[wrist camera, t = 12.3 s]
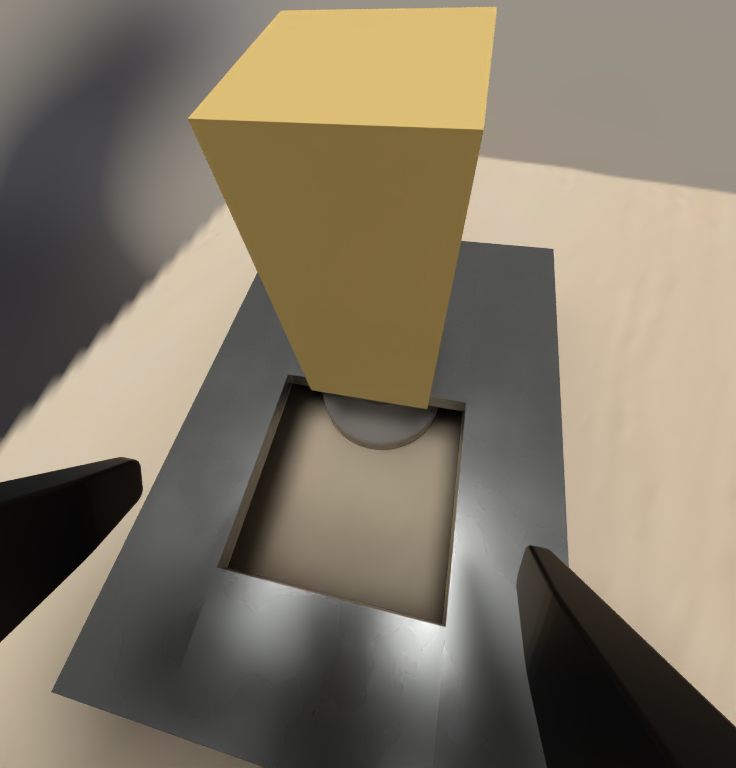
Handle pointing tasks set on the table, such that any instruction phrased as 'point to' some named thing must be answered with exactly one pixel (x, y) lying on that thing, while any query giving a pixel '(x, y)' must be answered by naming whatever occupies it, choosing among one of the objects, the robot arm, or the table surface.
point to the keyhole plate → (332, 613)
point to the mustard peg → (356, 193)
